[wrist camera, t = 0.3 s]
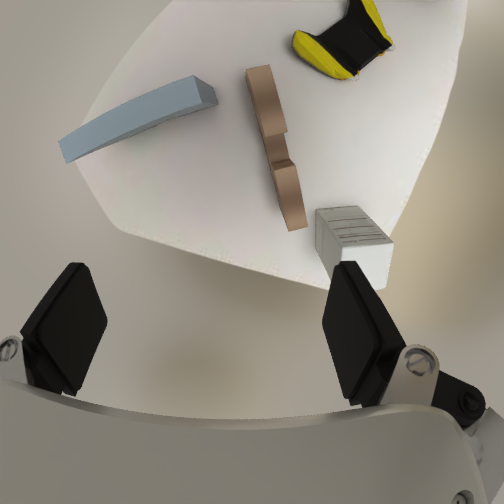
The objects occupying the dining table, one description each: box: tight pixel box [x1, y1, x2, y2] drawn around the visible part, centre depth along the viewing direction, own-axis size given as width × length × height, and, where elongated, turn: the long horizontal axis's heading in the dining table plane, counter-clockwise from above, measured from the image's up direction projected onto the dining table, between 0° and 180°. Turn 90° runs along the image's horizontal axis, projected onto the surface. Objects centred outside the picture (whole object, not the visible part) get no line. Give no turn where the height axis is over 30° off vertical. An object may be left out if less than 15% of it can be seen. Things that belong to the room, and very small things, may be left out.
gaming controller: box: [292, 0, 395, 81], centre depth 25 cm, size 15×6×10 cm
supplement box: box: [316, 206, 394, 290], centre depth 37 cm, size 7×7×13 cm
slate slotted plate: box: [59, 75, 218, 164], centre depth 26 cm, size 14×2×16 cm, turn 105°
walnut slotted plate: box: [245, 65, 308, 231], centre depth 32 cm, size 20×2×8 cm, turn 15°
